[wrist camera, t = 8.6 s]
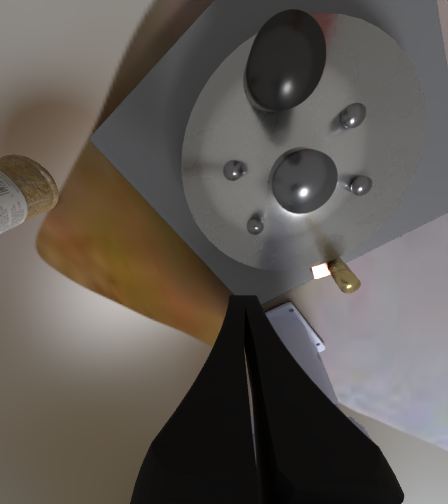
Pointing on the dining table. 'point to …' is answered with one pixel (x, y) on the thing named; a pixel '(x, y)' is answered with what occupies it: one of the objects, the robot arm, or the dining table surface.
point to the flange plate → (303, 141)
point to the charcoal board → (197, 75)
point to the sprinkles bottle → (24, 191)
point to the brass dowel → (343, 276)
